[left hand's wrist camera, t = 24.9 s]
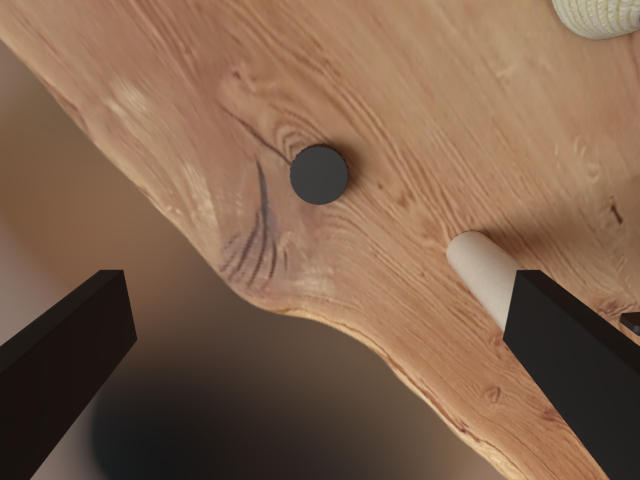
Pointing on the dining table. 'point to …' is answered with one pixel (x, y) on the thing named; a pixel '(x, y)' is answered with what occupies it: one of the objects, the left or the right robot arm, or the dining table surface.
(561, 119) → the dining table surface
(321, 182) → the lid
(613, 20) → the seashell
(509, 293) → the bottle
